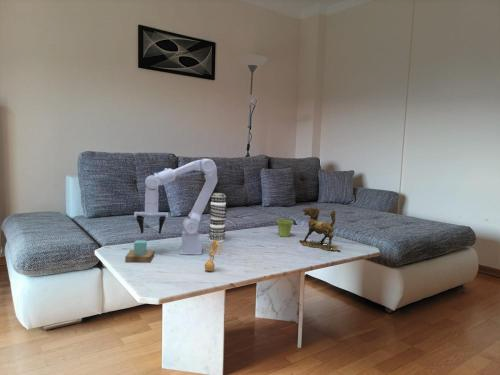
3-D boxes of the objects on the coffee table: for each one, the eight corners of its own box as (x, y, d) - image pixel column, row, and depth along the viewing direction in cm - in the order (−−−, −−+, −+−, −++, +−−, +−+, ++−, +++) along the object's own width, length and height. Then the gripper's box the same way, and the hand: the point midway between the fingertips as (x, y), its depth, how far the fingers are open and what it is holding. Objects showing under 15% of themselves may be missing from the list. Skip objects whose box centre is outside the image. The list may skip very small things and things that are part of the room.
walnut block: (154, 256, 158) (154, 250, 158) (150, 263, 149) (150, 256, 148) (130, 256, 157) (130, 249, 157) (125, 263, 147) (125, 256, 147)
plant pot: (294, 237, 205) (295, 222, 204) (278, 237, 203) (279, 222, 202) (289, 234, 214) (290, 219, 213) (273, 234, 212) (274, 219, 211)
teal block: (146, 251, 155) (146, 240, 155) (145, 254, 151) (145, 242, 150) (135, 251, 154) (135, 240, 154) (134, 254, 150) (134, 242, 150)
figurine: (308, 239, 202) (311, 204, 200) (347, 250, 183) (349, 210, 182) (293, 242, 194) (295, 205, 192) (331, 253, 175) (334, 212, 173)
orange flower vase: (198, 269, 143) (199, 239, 142) (210, 266, 147) (211, 237, 146) (212, 274, 137) (213, 244, 136) (224, 271, 142) (225, 241, 140)
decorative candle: (204, 239, 191) (206, 192, 188) (217, 237, 198) (218, 192, 195) (216, 243, 185) (218, 194, 182) (229, 240, 192) (231, 193, 189)
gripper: (132, 203, 154) (132, 234, 155) (167, 204, 156) (166, 235, 157) (136, 201, 161) (135, 231, 162) (169, 202, 163) (168, 231, 164)
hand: (151, 233), depth 160 cm, fingers open, 7 cm apart
